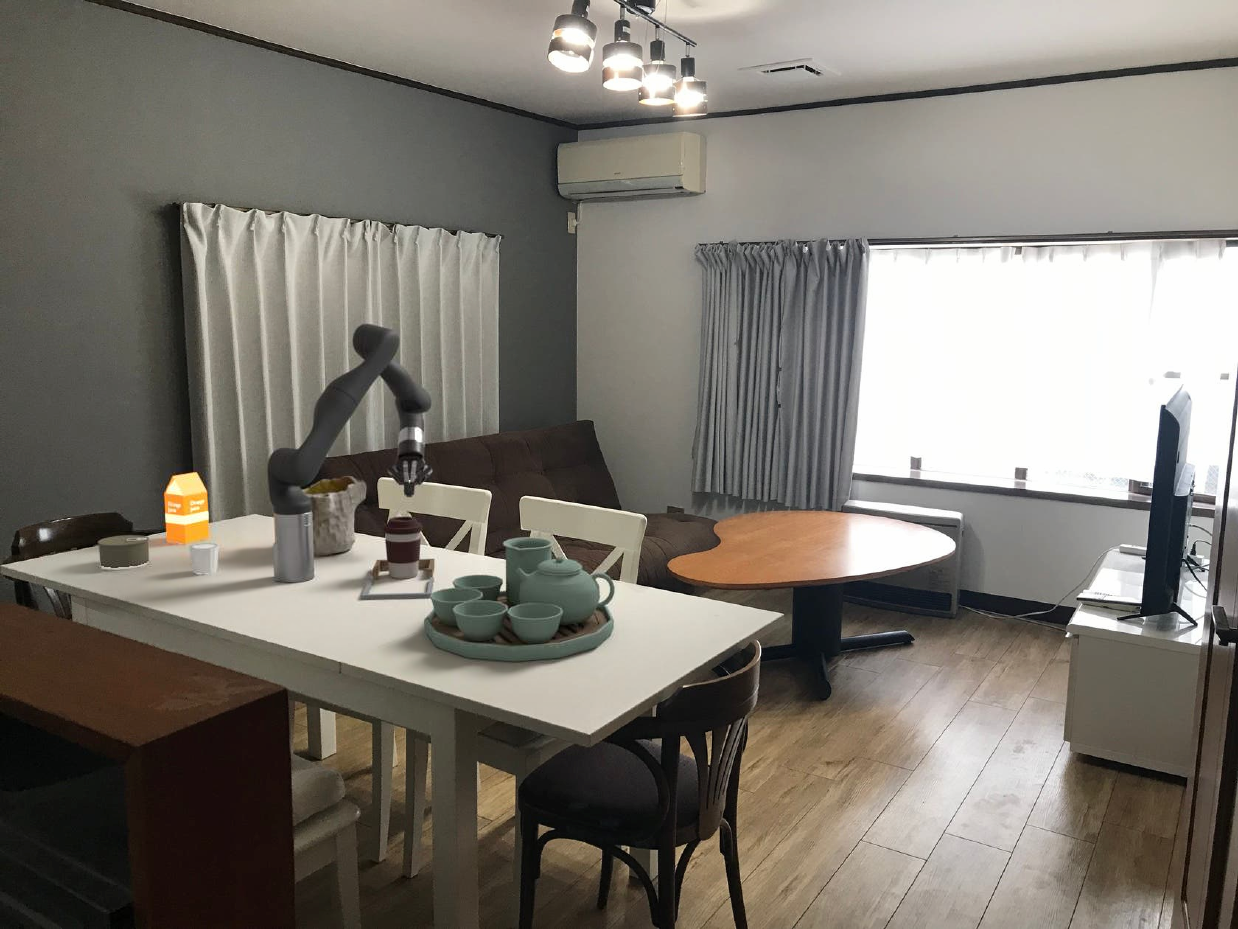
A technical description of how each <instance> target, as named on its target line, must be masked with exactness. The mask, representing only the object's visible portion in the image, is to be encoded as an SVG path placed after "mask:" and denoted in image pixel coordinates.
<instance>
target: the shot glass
mask: <svg viewBox="0 0 1238 929" xmlns="http://www.w3.org/2000/svg"><path fill="white" fill-rule="evenodd" d="M189 553H190V554H189V555H190V559H191V565H192V567H191V568H192V573H193V572H195V573H201V574H203V573H204V574H205V573H211V572H216V571H217V572H218V561H219V544H216V543H209V542H208V543H200V544H198V543H197V544H193V545H190V546H189ZM217 572H216V573H217Z"/></svg>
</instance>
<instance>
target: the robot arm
mask: <svg viewBox="0 0 1238 929" xmlns="http://www.w3.org/2000/svg"><path fill="white" fill-rule="evenodd" d="M400 341H401V340H400V336H399V334H398V333H397V331H395V330H393V329H391V328H388V327H383V326H381V325H380V326H379V325H375V324H371V323H364V324H360V325H359V326H357V327H356V329H355V331H354V333H353V336H352V347H353V349H354V351H355V352H356V354H357V355H358V356H359V357H360V358H362V360H363V362H361V363H360V364H359V365H357V366H356V367H355V368H352V369H351V370H349V371H347V372H345V373H344V374H341V375H339V376H338V377H337V378H335V379H333V380H332V381H331V382H330V383H329V384H328V385H327V386H326V388H325V389H324V390H323V392H322V393H321V394H320V395H319V397H318V399H317V401H316V403H315V406H314V410H313V418H312V420H313V421H312V428H311V430H310V431H309V434H308V436H307V437H306V438H305V440H304V441H303V443H302V444H301V445H300V446H299V447H298V448H293V447H292V448H291V447H280V448H277V449H275V450H274V451H273V452H272V453H271V454H270V456H269V458H268V462H267V469H266V470H267V482H268V495H269V501H270V503H271V504H272V508H273V524H274V525H273V526H274V542H273V543H272V554H273V577H274V578H273V581H274V582H283V583H299V582H306V581H309V580H312V579H314V578H315V562H314V561H315V558H314V557H315V556H314V549H313V520H312V502H311V500H310V499H309V498H308V497H307V496H306V495H305V494H304V493H303V492H302V490H303V489H302V488H301V487H305V486H307V485H309V484H310V483H311V482H313V480H314V479H315V478H316V476H317V475H318V472H319V471H320V469H321V467H322V465H323V464H324V461H325V459H326V458H327V456H328V454H329V452H330V450H331V448H332V447H333V445H334V443H335V442H336V440H337V438H338V436H339V435H340V433H341V432H342V430H343V429H344V428H345V426H346V424H347V423H348V421H349V420H350V419H351V417H352V415H354V413H355V411H356V409H357V408H358V406H359V404H360V403H361V402H362V400H363V398H364V397H365V395H366V394H367V392H368V391H369V390H370V388H371V386H373V383H375V381H376V380H377V379H378V378H379V377H380V378H381V379H382V380H383V382H384V383H385V384H386V386H387V387H388V388H389V390H390V392H391V394H393V396H394V397H395V399H394V405H395V409H396V412H397V414H398V420H399V435H398V440H397V455H396V456H397V458H396V459H397V460H396V461H395V462H394V463H395V464H394V465H393V466H392V465H391V466H390V465H389V466H387V471H388V472H387V474H388V475H389V476H390V477H391V478H392V479H393V481H395V482H396V483H397V485H398V486H403V494H404V496H406V498H412V497H413V496H414V495H415V489H416V488H415V487H416V486H417V485H418V486H421V485H422V484H423V483H424V482H425V481H426V480H427V479H428V478H429V477H430V476H431V475H432V474H433V466H432V465H427V464H426V461H425V447H426V445H425V420H424V418H423V416H422V415H420V414H424V413H427V412H428V411H429V410H430V409H431V407H432V397H431V395H430V393H429V392H428V391H427V390H426V389H425V387H423V386H421V385H420V384H419V383H417V382H416V381H414V379H413V377H412V376H411V374H410V372H408V370H407V369H406V368H405V367H404V366H403V365H402V364H401V363H400V362H398V361H397V360H395V359H394V357H395V356H396V354H397V353H398V349H399V347H400ZM398 472H399V473H400V474H401V475H400V474H399V473H398ZM402 476H403V477H402Z"/></svg>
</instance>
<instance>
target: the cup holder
mask: <svg viewBox="0 0 1238 929" xmlns="http://www.w3.org/2000/svg"><path fill="white" fill-rule="evenodd" d="M380 569H389V566H388V561H387V559H376V560H375V563H374V565H373V567H372V570H371V575H372V576H371V579H373V581H377V580H378V578H379V577H378V576H379V574H380V572H381V570H380ZM418 570H428V578H427V579H428V580H430V577H434V572H435V558H420V559H419V563H418Z"/></svg>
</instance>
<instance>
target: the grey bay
mask: <svg viewBox="0 0 1238 929" xmlns="http://www.w3.org/2000/svg"><path fill="white" fill-rule="evenodd" d="M433 583H435V577H434V576H433V577H430V579H428V585H427V591H426V592H402V593H401V592H399V593H396V592H394V593H393V592H392V593H370V592H371V590H370V589H372V587H371V586H373V585H374V580H373V579H372V578H369V579H368V581H367V583H366V585H365V588H364V590H363V592H362V594H361V600H388V599H389V600H392V599H393V598H398V599H397V600H399V598H401V599H431V598H430V595H431V594H432V593H433V588H434V584H433ZM372 584H373V585H372ZM369 591H370V592H369Z"/></svg>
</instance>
